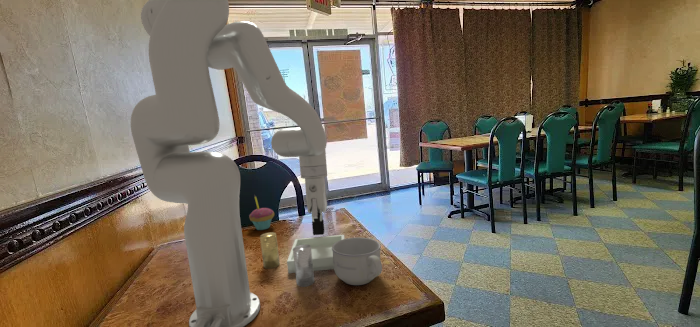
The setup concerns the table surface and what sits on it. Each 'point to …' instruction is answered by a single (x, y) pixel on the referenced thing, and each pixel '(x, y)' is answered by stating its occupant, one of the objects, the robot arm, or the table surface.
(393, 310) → the table surface
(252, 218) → the cupcake
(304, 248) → the steel roller
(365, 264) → the teacup
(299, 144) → the robot arm
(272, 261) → the brass roller
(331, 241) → the tray
